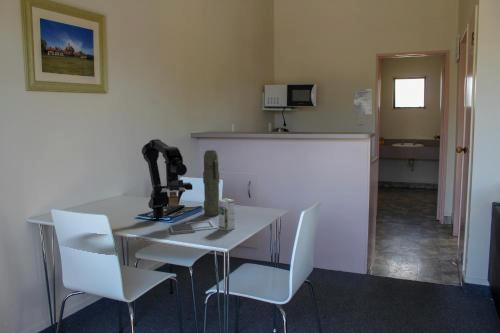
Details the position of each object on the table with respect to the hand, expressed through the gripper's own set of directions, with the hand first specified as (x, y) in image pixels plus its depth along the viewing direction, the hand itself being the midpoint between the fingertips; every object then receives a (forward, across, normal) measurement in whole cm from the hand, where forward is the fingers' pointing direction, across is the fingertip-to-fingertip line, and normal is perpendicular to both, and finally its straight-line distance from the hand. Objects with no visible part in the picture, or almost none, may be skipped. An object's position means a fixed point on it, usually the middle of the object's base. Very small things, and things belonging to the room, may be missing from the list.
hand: (173, 204), depth 219 cm
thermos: (+11, +23, +17) cm, 31 cm away
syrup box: (+11, +24, -13) cm, 29 cm away
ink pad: (+11, +3, -8) cm, 14 cm away
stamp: (+1, 0, 0) cm, 1 cm away
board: (+11, +13, -4) cm, 17 cm away
